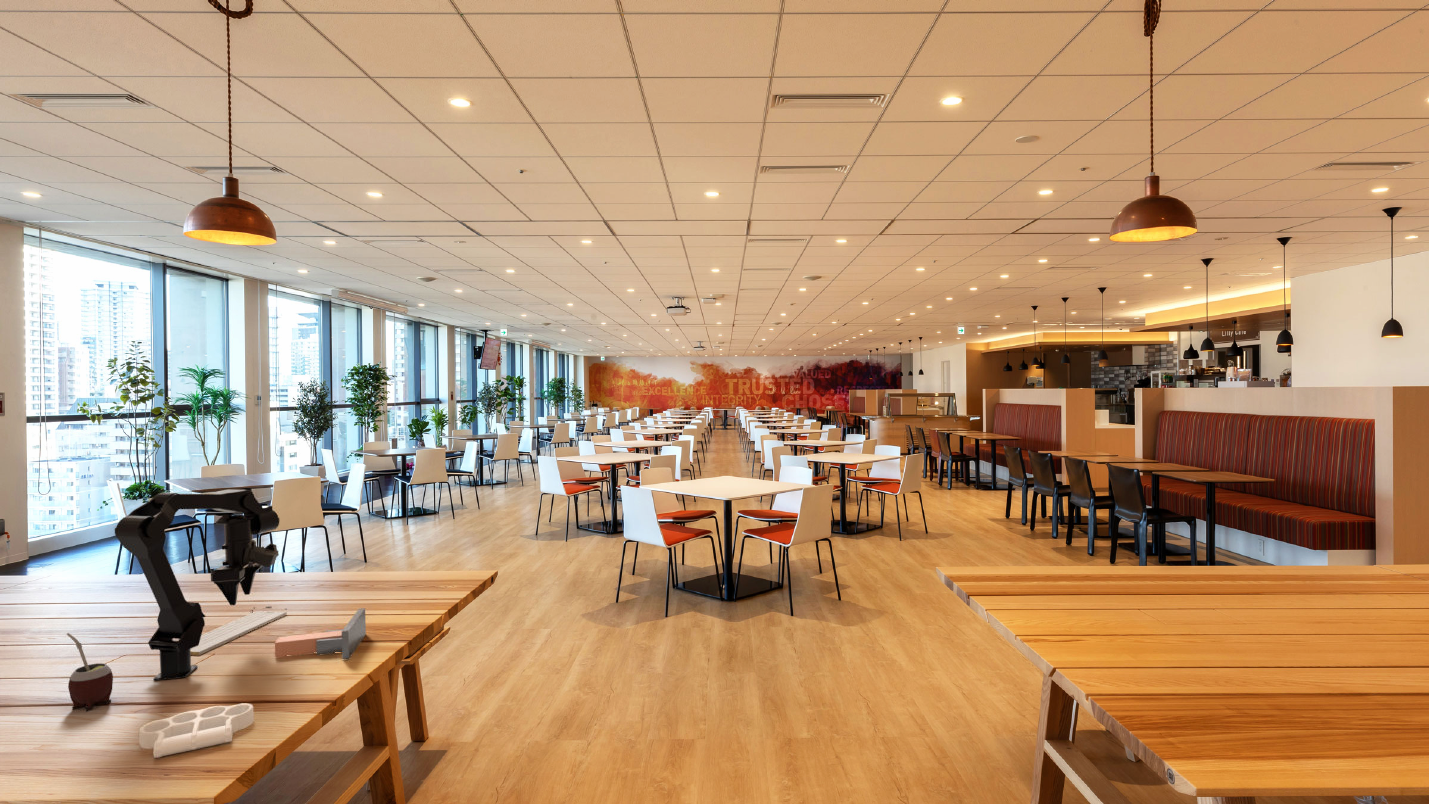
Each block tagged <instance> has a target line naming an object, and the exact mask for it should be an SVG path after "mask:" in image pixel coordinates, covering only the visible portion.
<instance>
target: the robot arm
mask: <svg viewBox="0 0 1429 804" xmlns="http://www.w3.org/2000/svg"><path fill="white" fill-rule="evenodd" d="M210 509H211V510H214V511H216V512H217V511H218V512H223V514H222V516H221V517H220V518H218V520H216V525H224V544H222V545H221V550H224V551H225V553H224V554H225V560H223V561H222V563H221V564H222V565H220V566H219V567H218V568H216V569H214V570H213V571H212V572H210V582H213V584H214V585H216V586H217V587H218V588H219V591H220V592H221V593H222V595H223V596H224V597H225V599H226V601H227V602H228V604H229V605H230V606H235V605H236V604H237V601H238V600H237V599H238V594H239V593H238V591H239V585H240V587H241V589H242V592H243V594H244V595H246V596H247V595H250V593H251V590H252V586H253V582H254V579H255V577H256V573H257V572H258V570H260V569H261V568H262V567H265V568H270V567H271V566H272V565H274V564H275V563H276V560H277V557H278V556H279V555H280V554H279V550H278V548H277V547H278V546H277V544H274V543H269V544H267V545H266V546H257V541H255V539H252V538H253V537H252V536H254V535H260V534H263V533H267V532H271V531H274V530H276V529H278V527H279V525H280V517H279V515H278V514H277V512H276V511H275V510H274V509H273V505H261V504H260V502H259V501H258V500H257V498H256V497H255V494H254V493H253V491H252V490H250V489H223V490H218V491H216V492H212V493H211V492H210V493H179V492H178V493H177V492H160V493H157V494H156V495H154V496H153V497H152V498H151V499H149V501H147V502H145V503H143V504H142V505H140V506H139V507H137V508H135V509H133V510H132V511H131V512H130V513H129V514H128V515H127V516H124V517H123V518H122V519H120V520H119V522H118V523H117V525H116V526H115V528H114V535H115V538H116V539H117V540H118V541H119V542H120V544H121V546H122V547H123V548H124V549H125V550H126V551H129V553H131V554H132V555H134V556H135V557H136V559H137V561H138V564H139V565H140V568H141V570H142V573H143V574H144V577H145V578H146V581H147V583H148V585H149V587H150V589H151V592H152V594H153V597H154V599H155V601H156V603H157V605H158V607H159V612H158V615H157V618H156V619H157V620H156V621H157V625H158V628H157V629H156V630H155V632H154V634H153V635H151V637H150V639H149V640H148V642H147V643H148V645H149V648H150V650H151V651H152V650H153V651H155V650H156V651H157V650H158V651H159V667H160V668H159V669H160V672H159V673H158V674H157V675H155V676H154V677H153V681H159V680H171V679H173V680H174V679H181V678H182V679H183V678H186V677H187V676H189V675H190V674H191V673H192V672H193V671H194V670H196V669H197V668H198V664H191V662H192V659H191V658H192V657H191V656H192V655H191V653H190V649H191V648H193V647H196V646H198V645H199V642H200V638H201V635H202V633H203V631H204V628H205V625H206V622H205V617H206V615H205V614H204V613H203V611H202V607H201V606H202V605H201V604H200V603H199V602H195V601H187V600H186V598H185V596H184V594H183V592H182V591H183V590H182V588H181V586H180V584H179V583H178V580H177V578H176V575H175V572H174V571H173V569H172V565H171V564H170V561H169V558H168V557H167V555H166V553H165V550H164V546H165V542H166V540H167V534H166V529H167V528H168V527H169V526H170V525H172V523H173V521H174V518H175V515H176V513H177V512H178V511H179V510H210ZM231 513H232V514H234V515H232V514H231ZM174 639H177V640H174Z"/></svg>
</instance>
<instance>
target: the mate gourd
mask: <svg viewBox="0 0 1429 804" xmlns="http://www.w3.org/2000/svg"><path fill="white" fill-rule="evenodd" d="M66 635H67V636H68V637H69V638H70V639H71V640H72V641H73V642H74V643H75V647H76V648H77V650H78V652H79V655H80V657H81V660H82V662H83V666H81V667H78V668H76V669H74V671H73V672H72V673H71V675H70V677H69V681H68V692H69V696H70V700H71V702H72V704H73V706H71V709H72V710H78V709H84V708H85V712H90V711H92V710H93V709H94V707H96V706H100V705H106V704H110V703H111V702H112V699H110V698H111V695H112V691H113V685H114V684H113V683H114V682H113V681H114V674H113V671H112V669H111V667H110V666H109V665H107V664H106V663H102V662H100V663H91V664H88V662H87V661H88V660H87V659H86V655H85V653H84V650H83V645H82V643H81V642H80V641H79V640H78V639H77V638H76V637H75V636H73V635H72V634H71V633H70V632H68V633H67V632H66Z"/></svg>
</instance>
